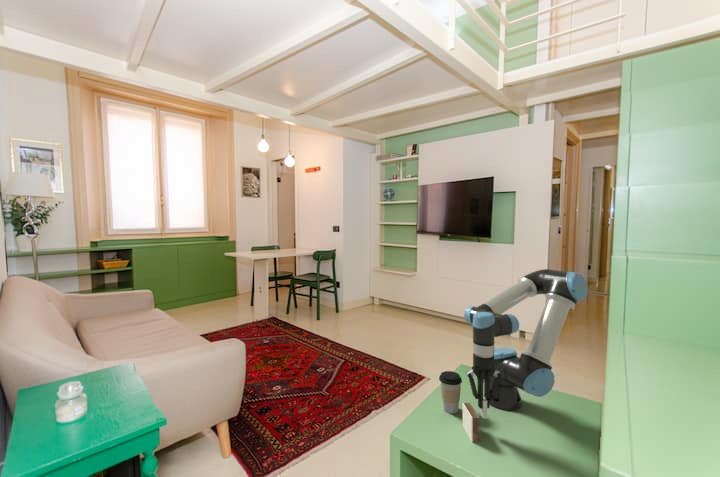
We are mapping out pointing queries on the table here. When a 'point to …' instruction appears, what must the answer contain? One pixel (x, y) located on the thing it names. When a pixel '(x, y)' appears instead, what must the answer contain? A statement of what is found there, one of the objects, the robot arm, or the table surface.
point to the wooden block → (471, 422)
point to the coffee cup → (450, 390)
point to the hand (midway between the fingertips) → (483, 416)
